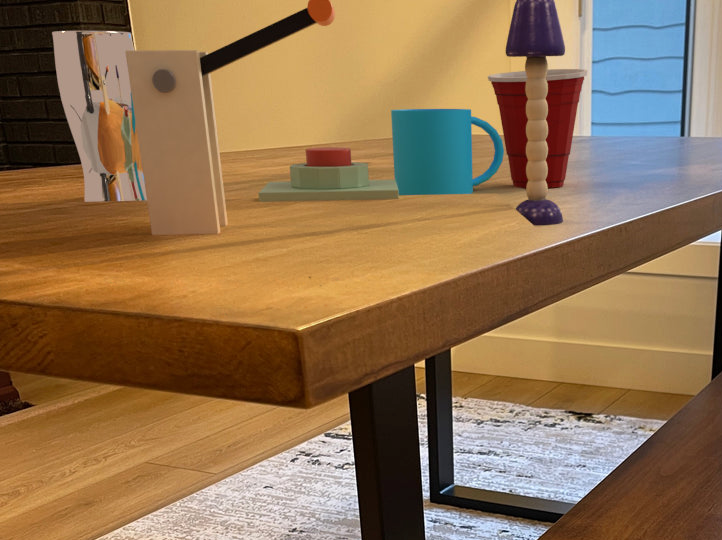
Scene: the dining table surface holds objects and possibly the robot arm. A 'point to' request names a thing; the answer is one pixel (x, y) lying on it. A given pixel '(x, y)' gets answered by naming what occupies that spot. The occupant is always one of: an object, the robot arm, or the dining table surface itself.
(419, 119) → the mug
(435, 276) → the dining table surface
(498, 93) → the plastic cup
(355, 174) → the button box
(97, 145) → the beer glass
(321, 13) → the lever
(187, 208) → the bracket
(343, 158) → the button
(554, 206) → the toy lamp
